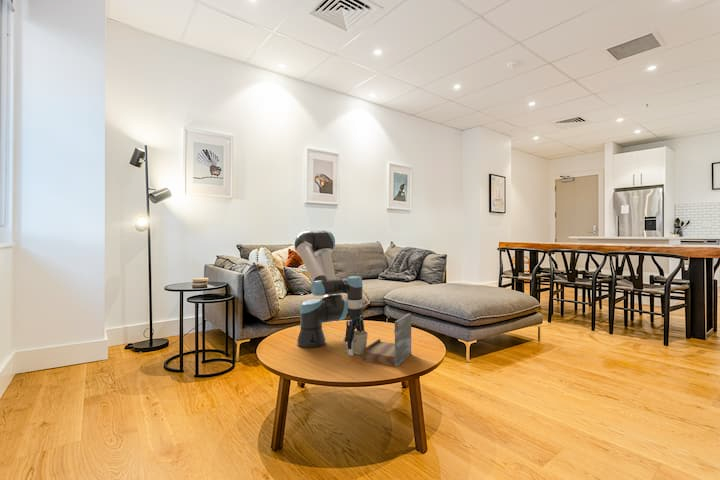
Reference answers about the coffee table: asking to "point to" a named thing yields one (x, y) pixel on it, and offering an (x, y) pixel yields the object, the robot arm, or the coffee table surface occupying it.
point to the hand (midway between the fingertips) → (355, 352)
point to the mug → (358, 342)
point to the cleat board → (392, 345)
